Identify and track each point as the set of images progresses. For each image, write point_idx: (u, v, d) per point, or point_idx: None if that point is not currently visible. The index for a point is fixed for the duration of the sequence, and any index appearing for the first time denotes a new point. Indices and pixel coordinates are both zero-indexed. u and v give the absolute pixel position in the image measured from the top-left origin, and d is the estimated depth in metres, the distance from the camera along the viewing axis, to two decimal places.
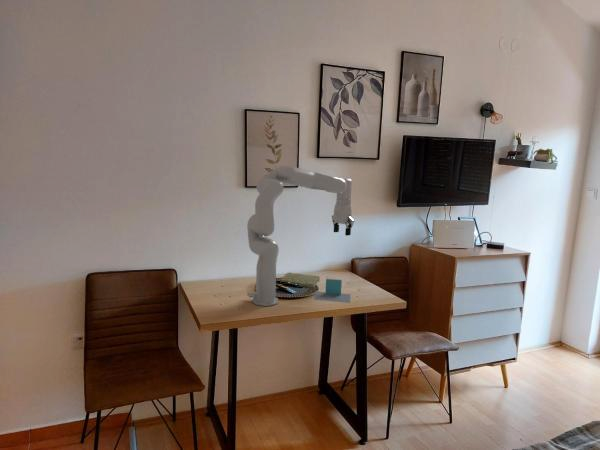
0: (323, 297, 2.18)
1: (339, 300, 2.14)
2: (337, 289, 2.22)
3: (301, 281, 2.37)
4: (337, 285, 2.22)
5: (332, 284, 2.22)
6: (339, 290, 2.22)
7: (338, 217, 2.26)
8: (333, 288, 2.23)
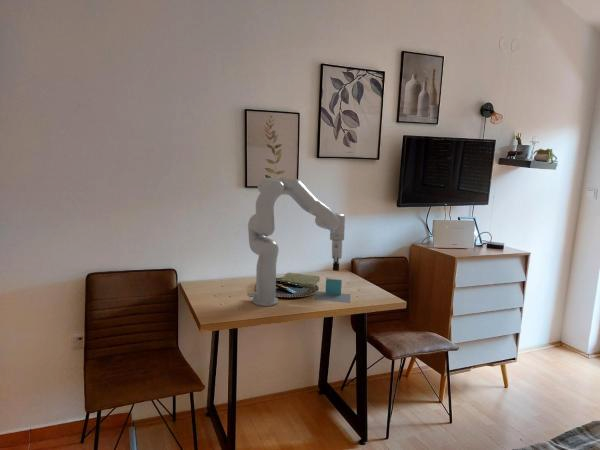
0: (323, 297, 2.18)
1: (339, 300, 2.14)
2: (337, 289, 2.22)
3: (301, 281, 2.37)
4: (337, 285, 2.22)
5: (332, 284, 2.22)
6: (339, 290, 2.22)
7: None
8: (333, 288, 2.23)
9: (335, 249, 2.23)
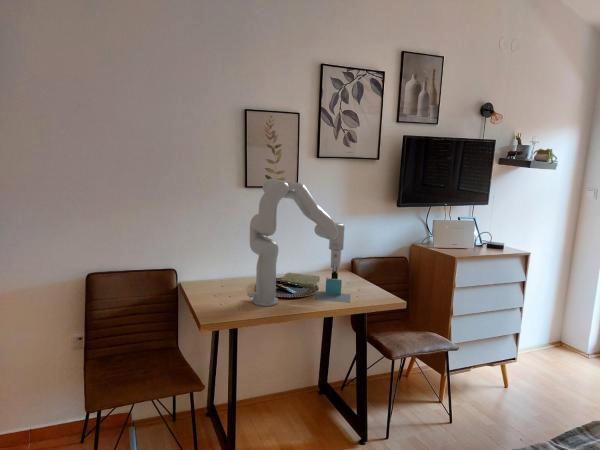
0: (323, 297, 2.18)
1: (339, 300, 2.14)
2: (337, 289, 2.22)
3: (301, 281, 2.37)
4: (337, 285, 2.22)
5: (332, 284, 2.22)
6: (339, 290, 2.22)
7: None
8: (333, 288, 2.23)
9: (334, 259, 2.22)
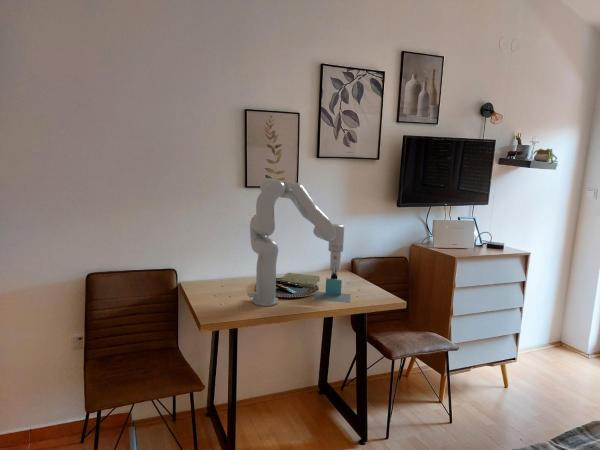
0: (323, 297, 2.18)
1: (339, 300, 2.14)
2: (337, 289, 2.22)
3: (301, 281, 2.37)
4: (337, 285, 2.22)
5: (332, 284, 2.22)
6: (339, 290, 2.22)
7: None
8: (333, 288, 2.23)
9: (333, 261, 2.19)
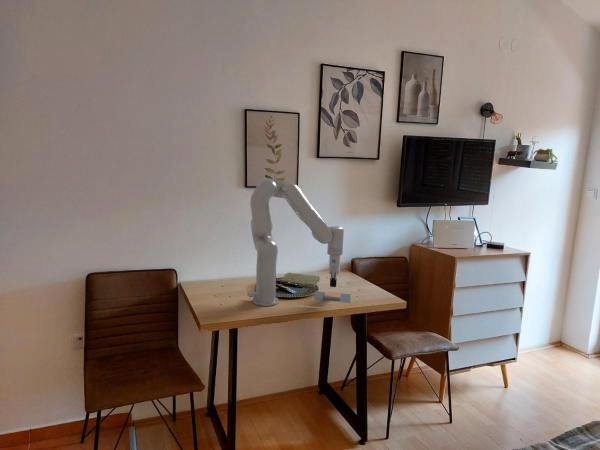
0: (323, 297, 2.18)
1: (339, 300, 2.14)
2: None
3: (301, 281, 2.37)
4: None
5: None
6: None
7: None
8: None
9: (333, 264, 2.11)
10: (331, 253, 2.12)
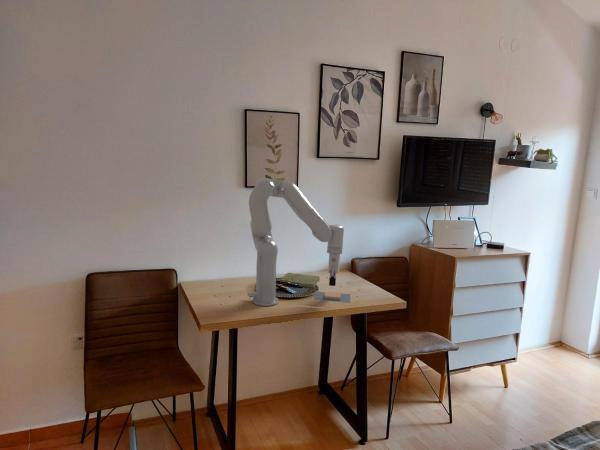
0: (323, 297, 2.18)
1: (339, 300, 2.14)
2: None
3: (301, 281, 2.37)
4: None
5: None
6: None
7: None
8: None
9: (332, 263, 2.10)
10: (331, 252, 2.11)
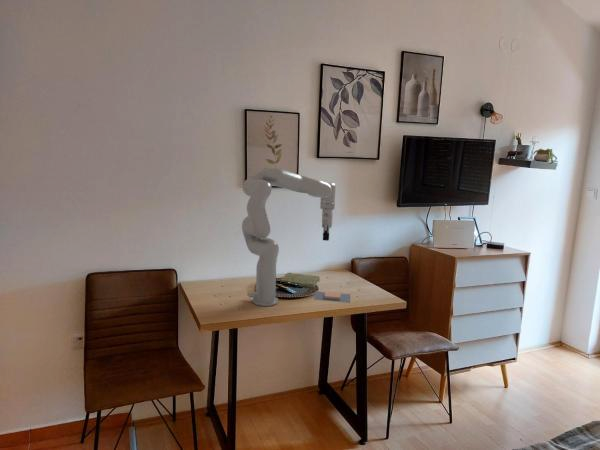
0: (323, 297, 2.18)
1: (339, 300, 2.14)
2: None
3: (301, 281, 2.37)
4: None
5: None
6: None
7: None
8: None
9: (325, 218, 2.23)
10: (323, 207, 2.24)
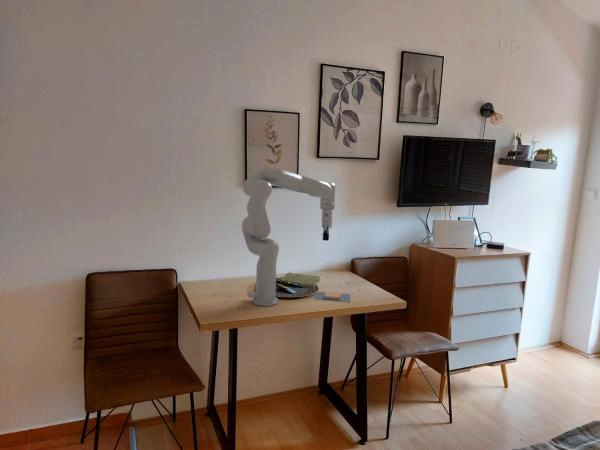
0: (323, 297, 2.18)
1: (339, 300, 2.14)
2: None
3: (301, 281, 2.37)
4: None
5: None
6: None
7: None
8: None
9: (325, 218, 2.23)
10: (323, 207, 2.24)
